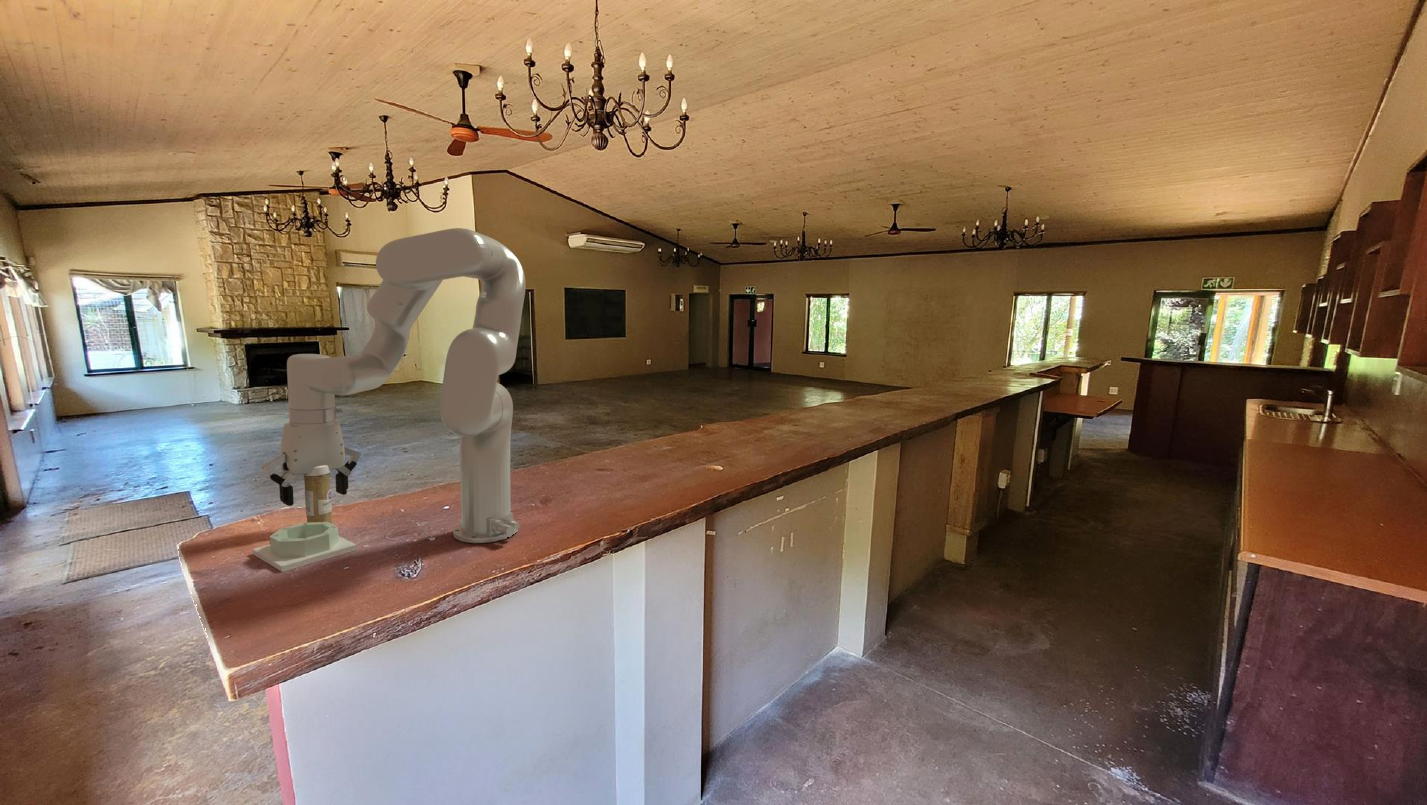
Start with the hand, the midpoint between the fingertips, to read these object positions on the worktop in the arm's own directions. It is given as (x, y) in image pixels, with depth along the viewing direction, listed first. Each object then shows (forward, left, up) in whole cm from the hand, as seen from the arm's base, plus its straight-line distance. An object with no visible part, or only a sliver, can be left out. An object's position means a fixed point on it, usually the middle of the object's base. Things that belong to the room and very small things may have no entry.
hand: (315, 498), depth 115 cm
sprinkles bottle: (0, 0, -6) cm, 6 cm away
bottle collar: (-11, +7, -6) cm, 15 cm away
